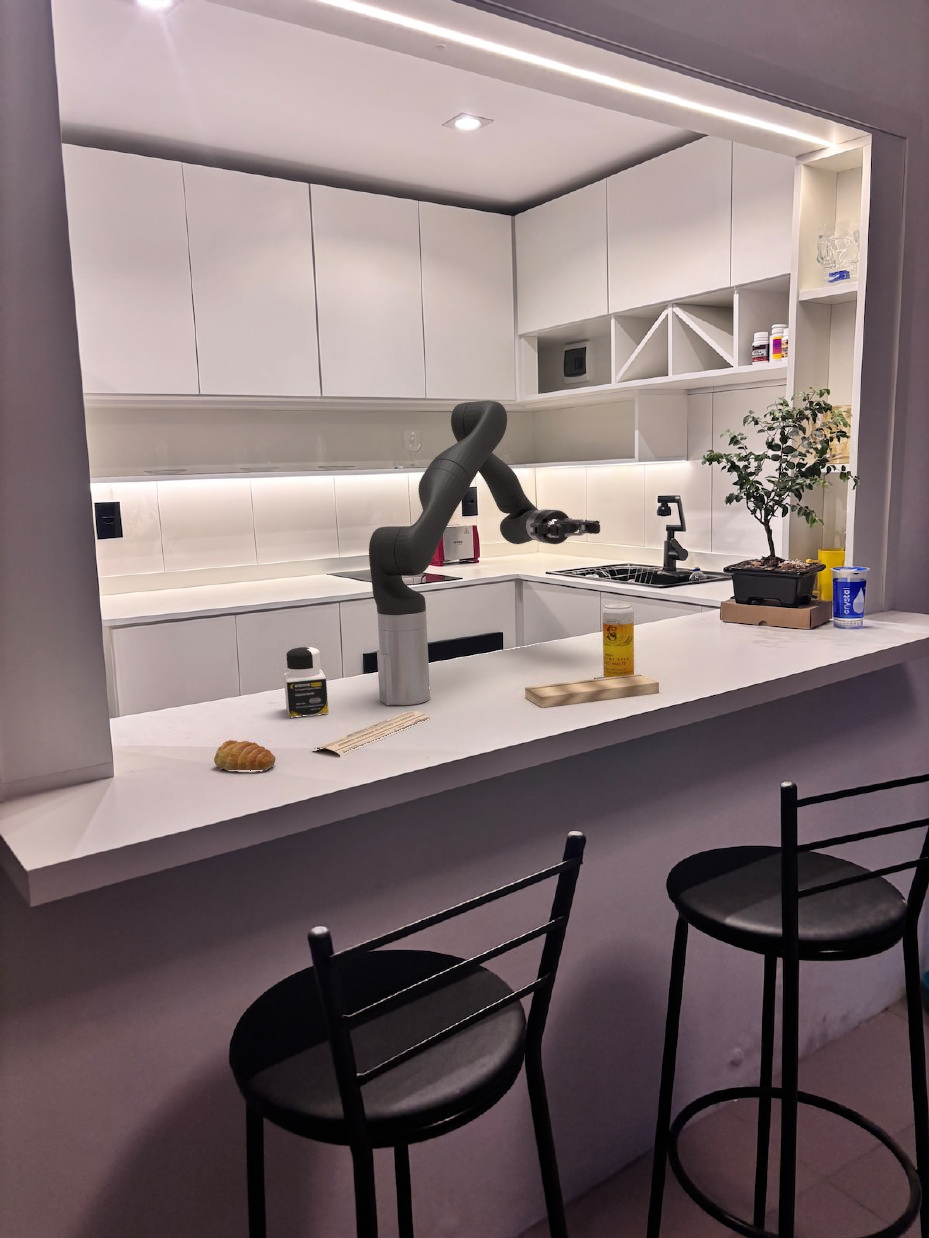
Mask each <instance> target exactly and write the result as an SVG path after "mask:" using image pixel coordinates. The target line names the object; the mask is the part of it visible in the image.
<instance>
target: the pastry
mask: <svg viewBox="0 0 929 1238" xmlns="http://www.w3.org/2000/svg"><path fill="white" fill-rule="evenodd" d="M213 762H214V764H215V765H216V766H217V767H218V768H219V767H220V768H222V770H223V769H224V770H225V771H227V770H250V771H251V770H265V771H267V770H268V769H270V768H273V767H275V762H276V756H275V755H274V754H273V753H272V752H271V750H269V749H266V748H265V747H264V746H261V745H259V744H258V743H256V742H255V741H253V742H252V741H247V740H242V741H238V740H234V739H233V740H231V739H229V740H226V741H224V742H223V743H222V744H221V745H220V746H219V747H218V748H217V750H216V753H215V755H214V758H213ZM220 768H219V769H220ZM266 769H267V770H266Z"/></svg>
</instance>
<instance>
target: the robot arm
mask: <svg viewBox="0 0 929 1238" xmlns="http://www.w3.org/2000/svg"><path fill="white" fill-rule="evenodd" d="M451 412H452V413H451V416H450V426H451V432H452V433H453V436H454V438H455V440H456V441H457V442H456V443H455V444H453V445H451V446H450V447H448V448H447V449H444V450H443V451H442V452H441V453H439V454H438V455H436V456H435V457H434V458H433V460H432V461H431V462H430V463H429V465H428V466H427V469H426V470H425V471H424V472H423V474H422V475H421V478H420V480H419V481H418V498H419V502H420V504H421V508H422V512H421V513H420V516H419V517H418V519H417V520H416V522H415V523H413V524H412V525H406V526H405V525H403V526H400V525H397V526H393V525H391V526H387V525H386V526H380V527H378V528H376V529H375V530H373V532H372V534H371V536H370V539H369V544H368V560H369V562H368V563H369V569H370V577H371V585H372V586H371V587H372V596H373V599H374V602H375V605H376V612H377V613H376V614H377V626H378V627H377V630H378V632H377V633H378V645H379V646H378V648H379V649H377V652H376V655H377V659H376V660H377V673H378V692H379V693H378V694H379V700H380V701H382V703H384V705H386V706H410V705H418V704H422V703H425V702H427V701H429V700H430V699H431V685H430V683H431V682H430V667H429V666H430V665H429V646H428V628H427V627H428V625H427V624H428V623H427V622H428V621H427V610H426V609H427V605H426V598H425V596H424V595H423V594H422V593H420V592H418V591H416V590H414V589H412V588H411V587H410V586H408V585H407V584H406V583H405V582H404V580H403V577H407V576H408V577H413V576H415V577H416V576H419V575H421V574H423V573H424V572H425V571H426V570H428V568H429V567H430V564H431V563H432V561H433V559H434V557H435V554H436V552H437V550H438V547H439V545H440V544H441V543H440V542H441V540H442V538H443V535H444V533H445V531H446V528H447V527H448V525H449V523H450V521H451V520H452V517H453V515H454V513H455V511H456V510H457V508H458V507H459V505H460V504H461V502H462V501H463V499H464V497H465V496H466V494H467V492H468V490H469V488H470V487H471V484H472V483H473V481H474V479H475V478H476V477H477V474H480V476H481V477H482V479H483V480H484V482H485V483H486V486H487V487H488V489H489V491H490V494H491V496H492V498H493V501H494V502H495V504H496V507H497V509H498V510H499V511H500V512H501V513H503V514H506V515H507V516H505V517H504V518H503V519H501V521H500V524H499V531H500V534H501V536H502V537H503V539H504V540H505V541H507V542H509V543H510V544H512V545H523V544H525V543H529V542H532V541H536V542H539V543H543V544H549V545H558V544H562V543H564V542H565V541H566V540H567V539H568V538H569V537H573V536H576V537H577V536H579V537H580V536H584V535H585V534H589V535H592V534H594V535H599V534H600V533H601V524H600V520H597V519H596V520H591V519H590V520H587V519H580V518H579V519H576V518H575V519H573V518H571V517H569V516H568V515H567V513H566V512H564V511H562V510H559V509H546V508H545V509H538V508H537V506H535V504H533V503H532V502H531V500H529V498H528V496H527V495H526V493H525V492H524V489H523V487H522V484H521V483H520V480H519V478H518V476H517V474H516V473H515V471H514V470H513V469H512V468H511V467H510V466H509V465H508V464H507V463H506V462H505V461H504V460H502V459H501V458H500V457H498V456H497V455H496V454H494V453H493V452H494V450H495V449H496V448H497V447H498V445H499V444H500V443H501V441H502V440H503V437H504V435H505V433H506V431H507V425H508V413H507V411H506V408H505V407H504V405H503V404H501V402H499V401H495V400H479V401H477V400H476V401H467V402H461V403H458V404H457V405H456V406H454V408H453V410H452V411H451Z"/></svg>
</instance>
